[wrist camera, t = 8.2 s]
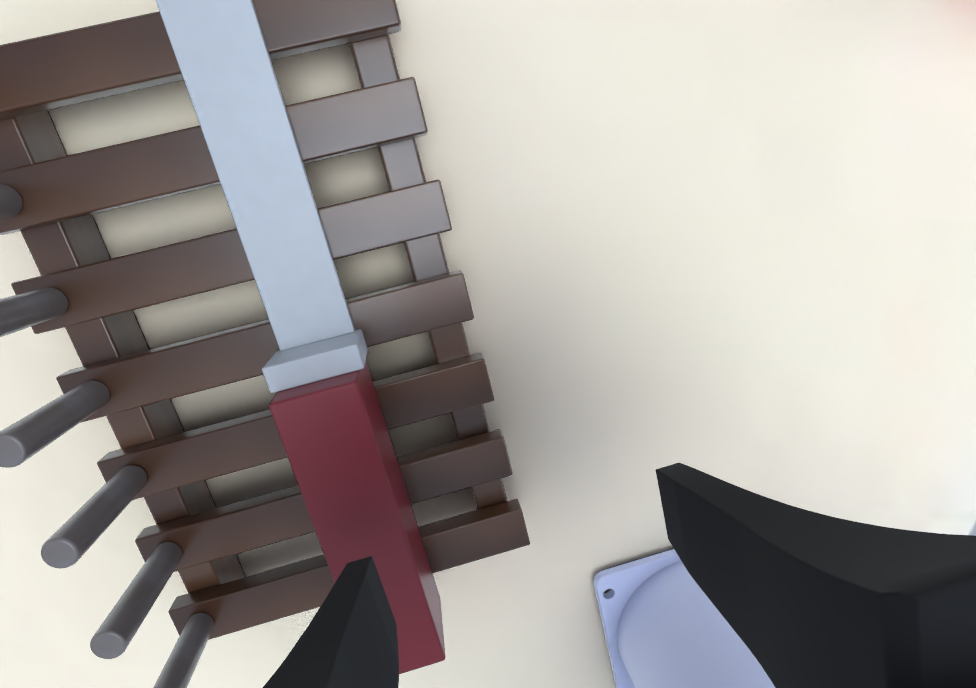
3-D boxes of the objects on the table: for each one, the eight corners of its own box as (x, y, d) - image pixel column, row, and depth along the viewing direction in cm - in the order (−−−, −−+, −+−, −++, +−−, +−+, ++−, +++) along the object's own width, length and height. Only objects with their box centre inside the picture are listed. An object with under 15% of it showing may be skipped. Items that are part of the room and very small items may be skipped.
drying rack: (517, 509, 24) (560, 631, 17) (212, 598, 23) (133, 763, 16) (386, -12, 18) (376, -129, 12) (-24, 77, 18) (-289, 4, 11)
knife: (444, 597, 21) (450, 659, 18) (371, 619, 21) (366, 685, 18) (230, -97, 15) (189, -167, 12) (123, -76, 15) (55, -141, 12)
